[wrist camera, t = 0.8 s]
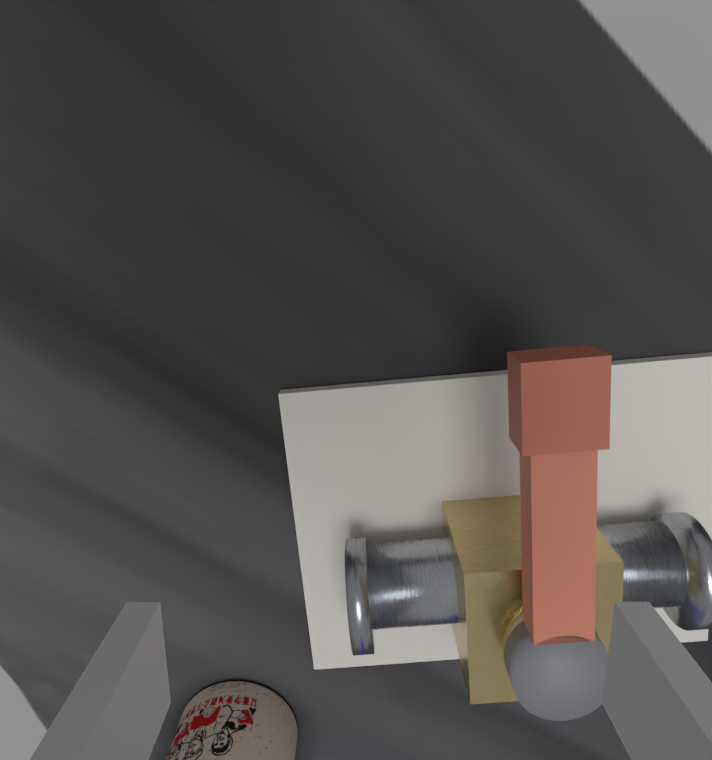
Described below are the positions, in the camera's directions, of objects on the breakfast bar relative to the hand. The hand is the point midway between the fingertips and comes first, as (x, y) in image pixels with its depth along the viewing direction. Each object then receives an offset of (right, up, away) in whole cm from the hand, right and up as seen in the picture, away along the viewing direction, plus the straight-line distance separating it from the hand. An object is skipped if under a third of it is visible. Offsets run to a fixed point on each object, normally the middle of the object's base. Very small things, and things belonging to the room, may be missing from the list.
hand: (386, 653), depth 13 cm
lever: (+8, -1, +14) cm, 17 cm away
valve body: (+9, -5, +25) cm, 27 cm away
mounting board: (+9, -3, +25) cm, 27 cm away
